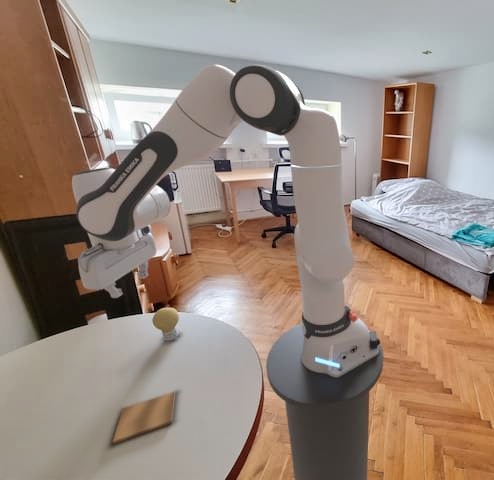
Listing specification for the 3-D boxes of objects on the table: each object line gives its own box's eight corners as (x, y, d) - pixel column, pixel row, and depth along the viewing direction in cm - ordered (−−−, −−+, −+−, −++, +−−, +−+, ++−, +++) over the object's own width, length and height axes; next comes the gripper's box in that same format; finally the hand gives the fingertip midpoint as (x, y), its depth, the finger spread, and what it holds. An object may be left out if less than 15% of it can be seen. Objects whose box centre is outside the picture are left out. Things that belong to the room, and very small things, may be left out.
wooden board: (175, 393, 68) (175, 391, 67) (171, 422, 61) (171, 420, 61) (123, 410, 64) (122, 408, 63) (113, 443, 57) (112, 441, 57)
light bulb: (155, 346, 82) (145, 317, 78) (163, 332, 88) (155, 304, 84) (179, 343, 83) (171, 314, 80) (186, 329, 89) (179, 302, 86)
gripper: (91, 254, 60) (112, 309, 65) (154, 223, 79) (166, 268, 84) (60, 254, 59) (83, 310, 64) (131, 223, 78) (145, 268, 83)
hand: (131, 286), depth 74 cm, fingers open, 8 cm apart
